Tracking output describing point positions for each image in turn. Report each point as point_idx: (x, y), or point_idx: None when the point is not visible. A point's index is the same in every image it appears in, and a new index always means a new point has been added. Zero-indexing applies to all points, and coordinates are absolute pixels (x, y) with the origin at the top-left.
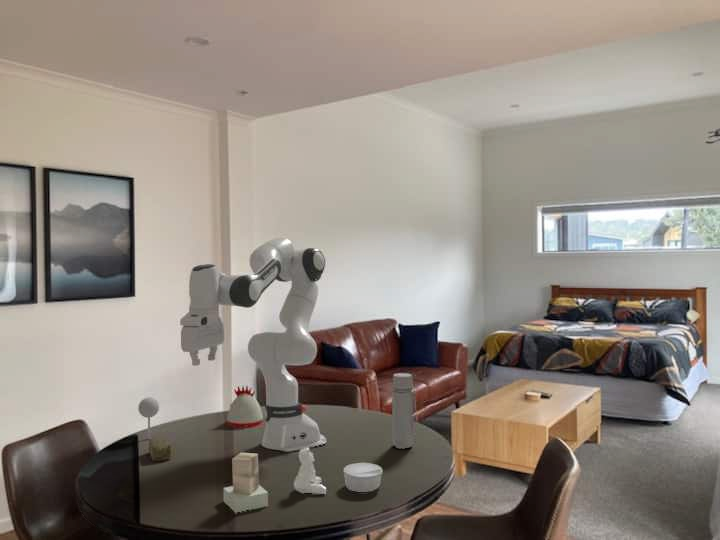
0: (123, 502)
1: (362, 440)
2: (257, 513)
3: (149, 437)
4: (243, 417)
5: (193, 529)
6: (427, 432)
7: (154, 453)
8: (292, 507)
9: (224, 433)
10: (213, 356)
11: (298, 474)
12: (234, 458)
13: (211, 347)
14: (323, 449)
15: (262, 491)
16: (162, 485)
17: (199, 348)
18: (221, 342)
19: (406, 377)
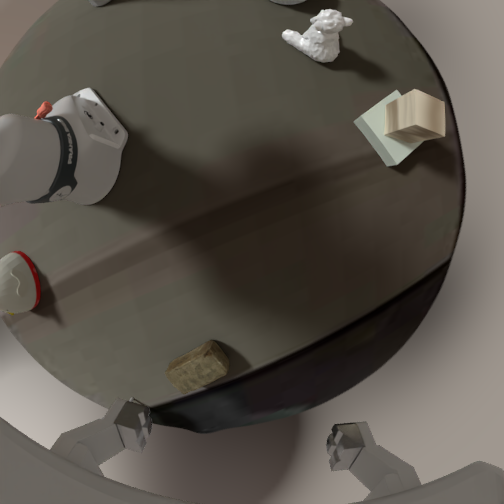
0: (397, 315)
1: (72, 50)
2: None
3: (132, 399)
4: (26, 279)
5: (459, 182)
6: (55, 5)
7: (228, 366)
8: (382, 64)
9: (66, 296)
10: (130, 419)
11: (328, 47)
12: (442, 131)
13: (96, 472)
14: (110, 81)
15: (396, 98)
16: (336, 296)
17: (424, 495)
18: (8, 433)
19: None
